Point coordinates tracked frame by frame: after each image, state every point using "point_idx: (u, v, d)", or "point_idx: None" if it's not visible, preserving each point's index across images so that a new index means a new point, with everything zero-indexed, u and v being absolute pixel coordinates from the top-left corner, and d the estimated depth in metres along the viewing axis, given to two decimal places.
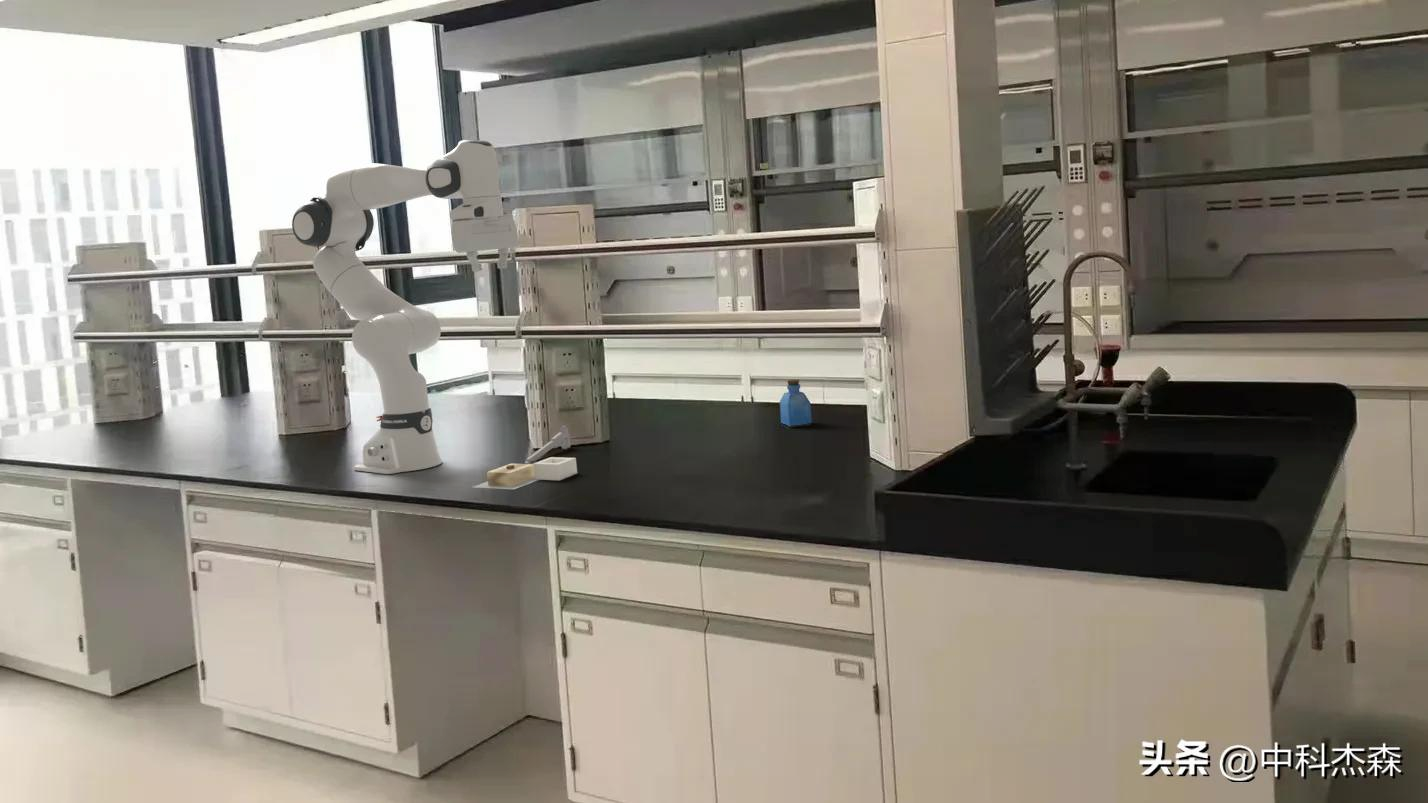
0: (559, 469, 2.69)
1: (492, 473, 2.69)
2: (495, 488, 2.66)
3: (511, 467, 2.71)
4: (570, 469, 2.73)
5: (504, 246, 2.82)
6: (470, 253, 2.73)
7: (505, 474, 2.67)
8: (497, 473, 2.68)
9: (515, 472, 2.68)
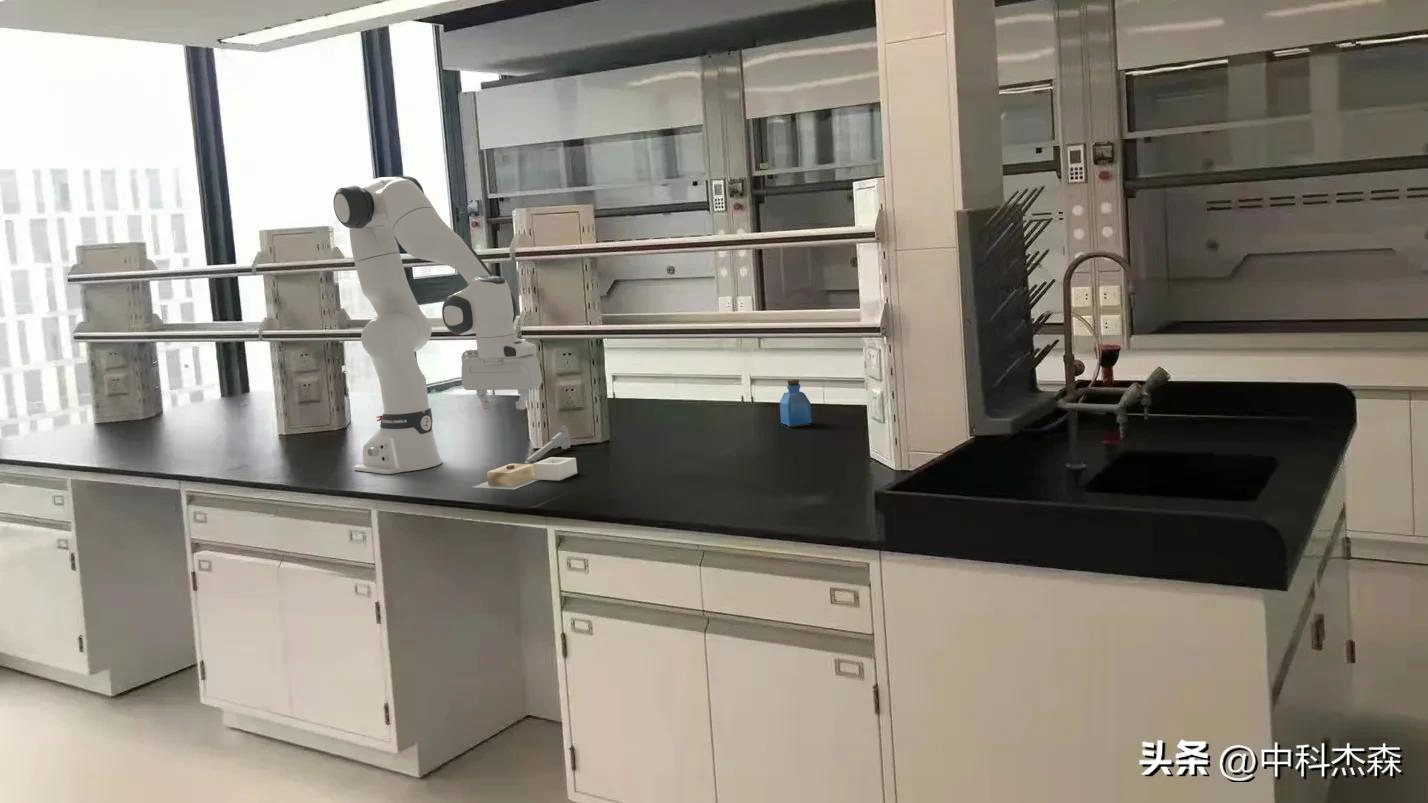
0: (559, 469, 2.69)
1: (492, 473, 2.69)
2: (495, 488, 2.66)
3: (511, 467, 2.71)
4: (570, 469, 2.73)
5: None
6: (525, 390, 2.66)
7: (505, 474, 2.67)
8: (497, 473, 2.68)
9: (515, 472, 2.68)
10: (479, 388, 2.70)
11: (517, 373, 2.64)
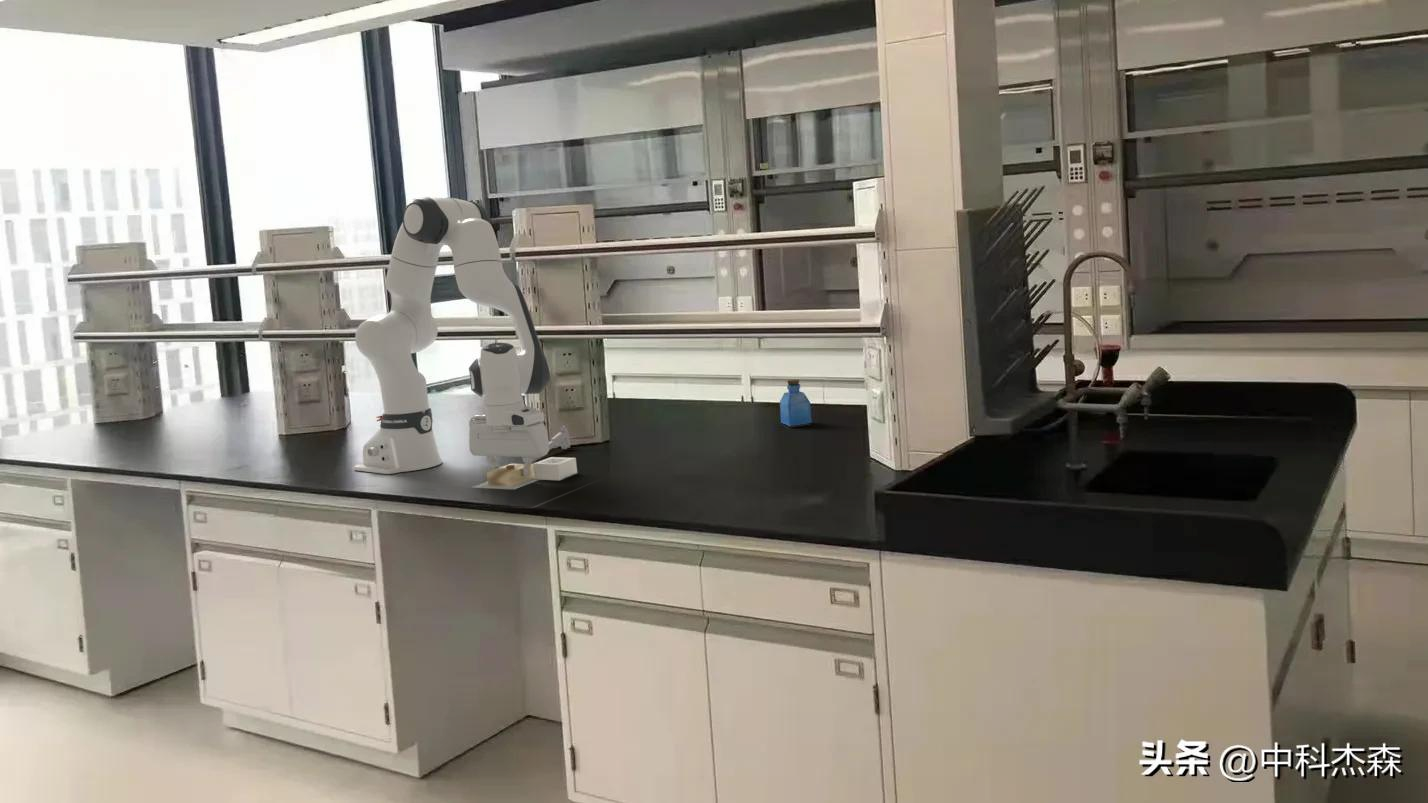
0: (559, 469, 2.69)
1: (492, 473, 2.69)
2: (495, 488, 2.66)
3: (511, 467, 2.71)
4: (570, 469, 2.73)
5: None
6: (530, 457, 2.69)
7: (505, 474, 2.67)
8: (497, 473, 2.68)
9: (515, 472, 2.68)
10: (487, 454, 2.72)
11: (525, 441, 2.66)
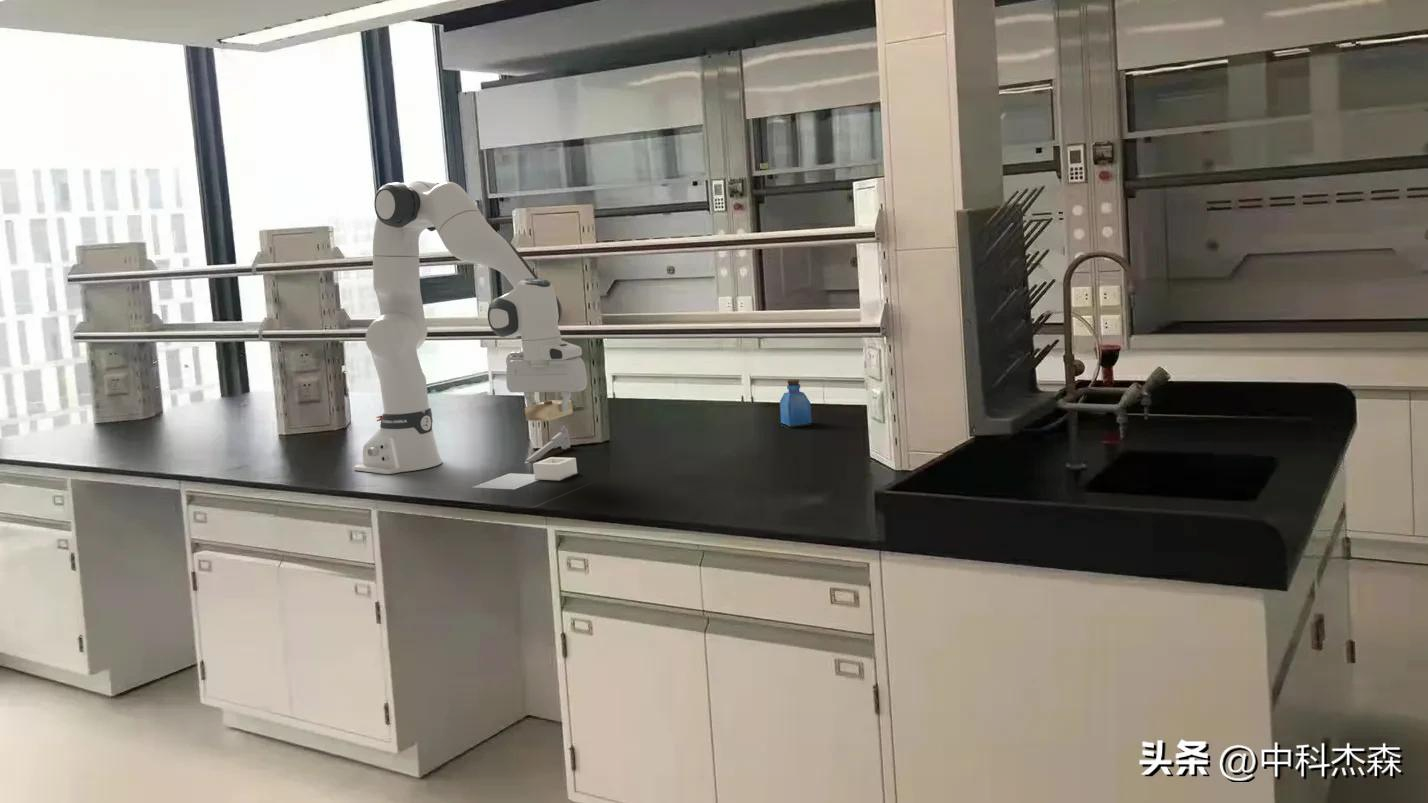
0: (559, 469, 2.69)
1: (530, 408, 2.68)
2: (495, 488, 2.66)
3: (549, 402, 2.70)
4: (570, 469, 2.73)
5: None
6: (568, 392, 2.68)
7: (543, 408, 2.66)
8: (535, 408, 2.67)
9: (553, 407, 2.67)
10: (524, 390, 2.71)
11: (563, 375, 2.66)
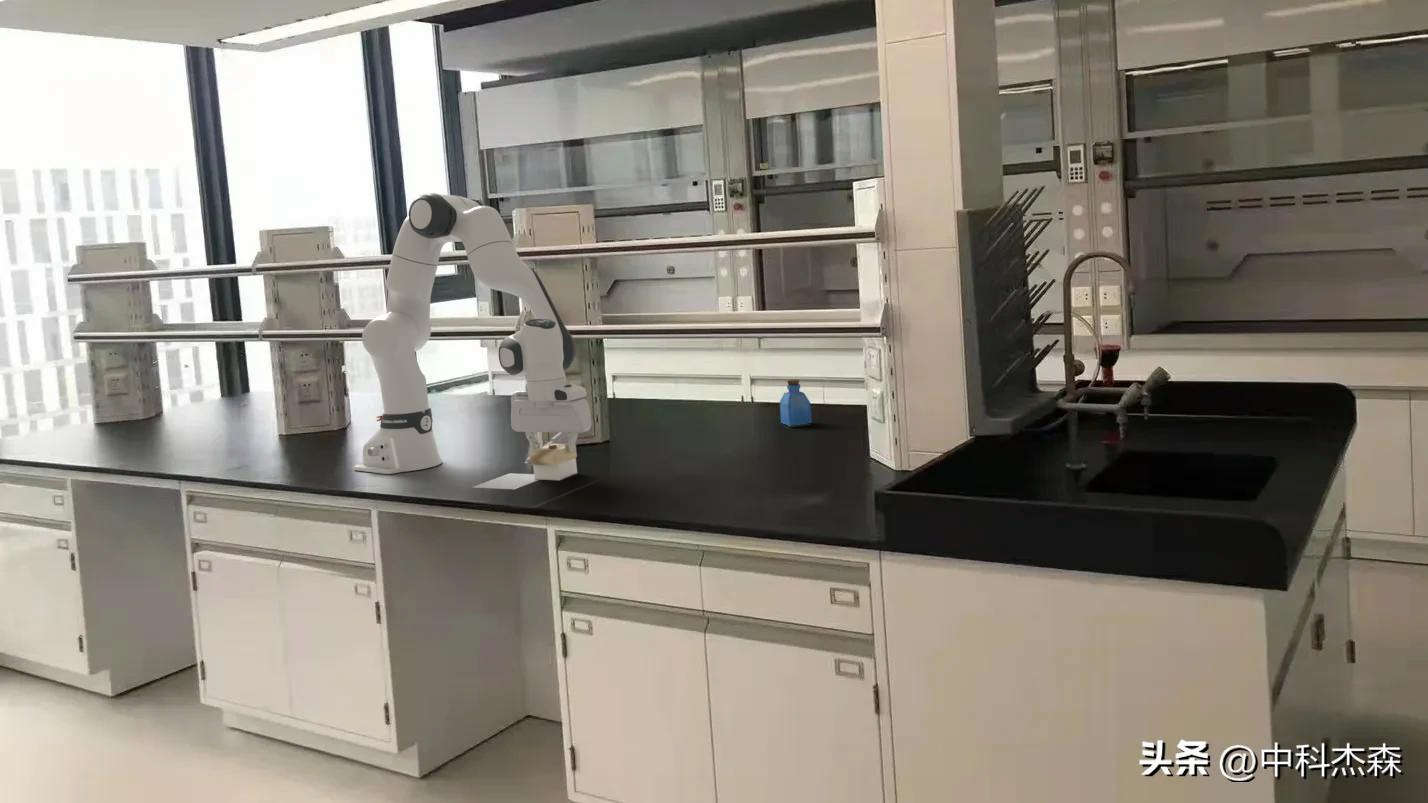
0: (559, 469, 2.69)
1: (534, 453, 2.70)
2: (495, 488, 2.66)
3: (553, 447, 2.72)
4: (570, 469, 2.73)
5: None
6: (575, 433, 2.69)
7: (548, 453, 2.68)
8: (540, 453, 2.69)
9: (558, 452, 2.69)
10: (528, 430, 2.73)
11: (568, 417, 2.67)
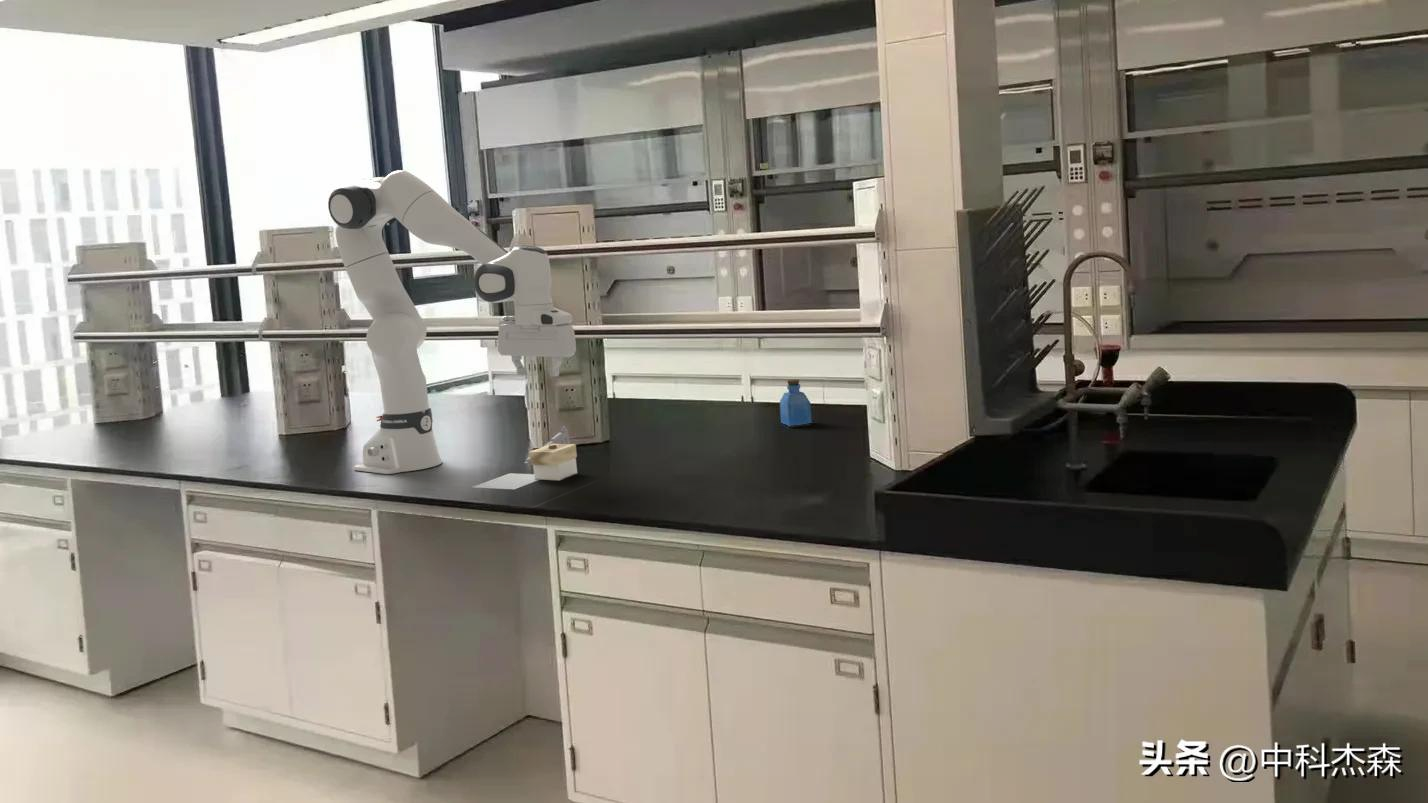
0: (559, 469, 2.69)
1: (534, 453, 2.70)
2: (495, 488, 2.66)
3: (553, 447, 2.72)
4: (570, 469, 2.73)
5: None
6: (560, 358, 2.75)
7: (548, 453, 2.68)
8: (540, 453, 2.69)
9: (558, 452, 2.69)
10: (514, 354, 2.79)
11: (553, 341, 2.73)
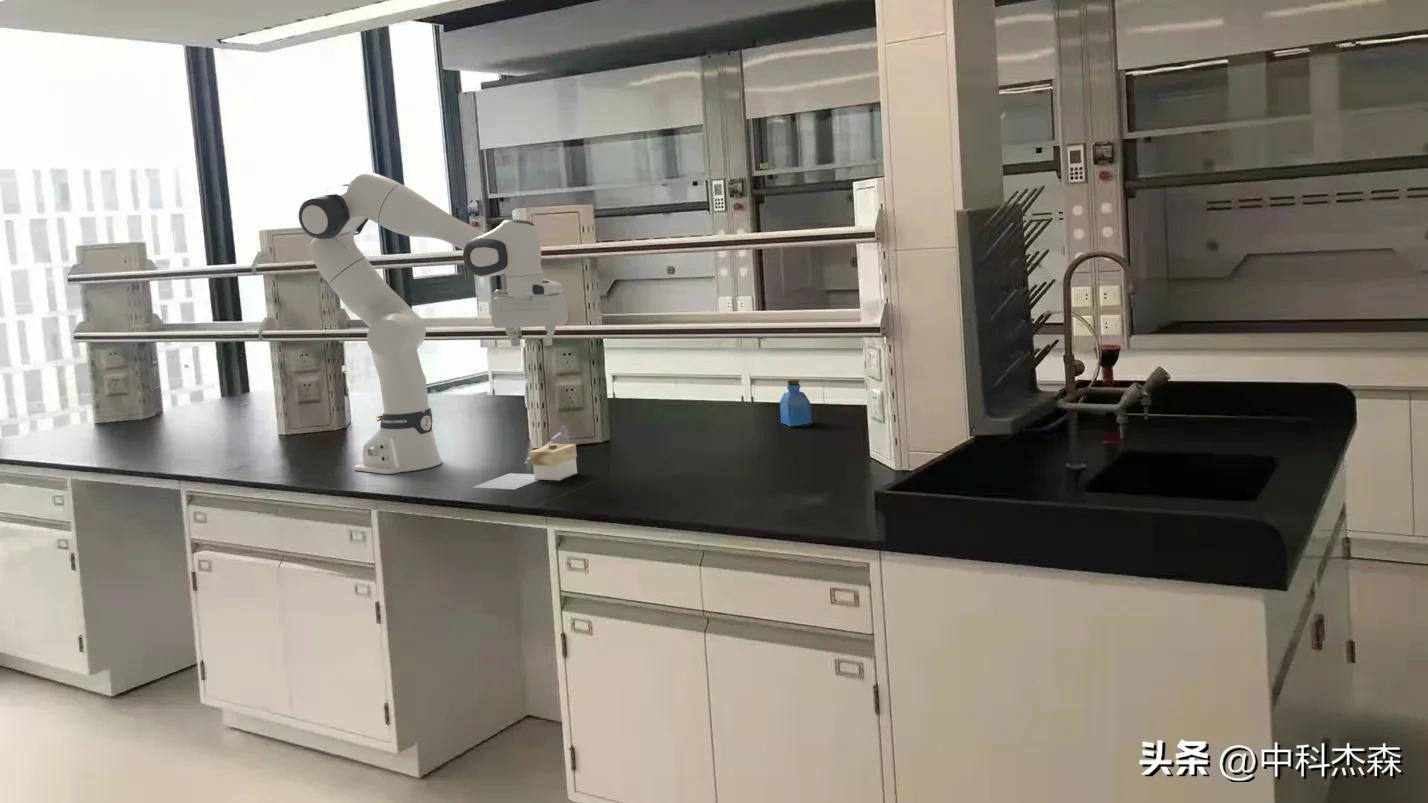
0: (559, 469, 2.69)
1: (534, 453, 2.70)
2: (495, 488, 2.66)
3: (553, 447, 2.72)
4: (570, 469, 2.73)
5: None
6: (552, 327, 2.82)
7: (548, 453, 2.68)
8: (540, 453, 2.69)
9: (558, 452, 2.69)
10: (508, 326, 2.85)
11: (545, 311, 2.80)
